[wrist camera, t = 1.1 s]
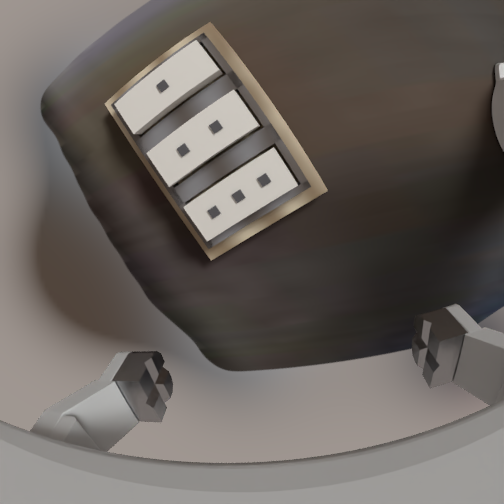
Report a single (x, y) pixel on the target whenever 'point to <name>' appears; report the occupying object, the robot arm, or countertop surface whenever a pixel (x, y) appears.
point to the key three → (240, 194)
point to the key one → (167, 87)
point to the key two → (202, 138)
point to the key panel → (232, 157)
